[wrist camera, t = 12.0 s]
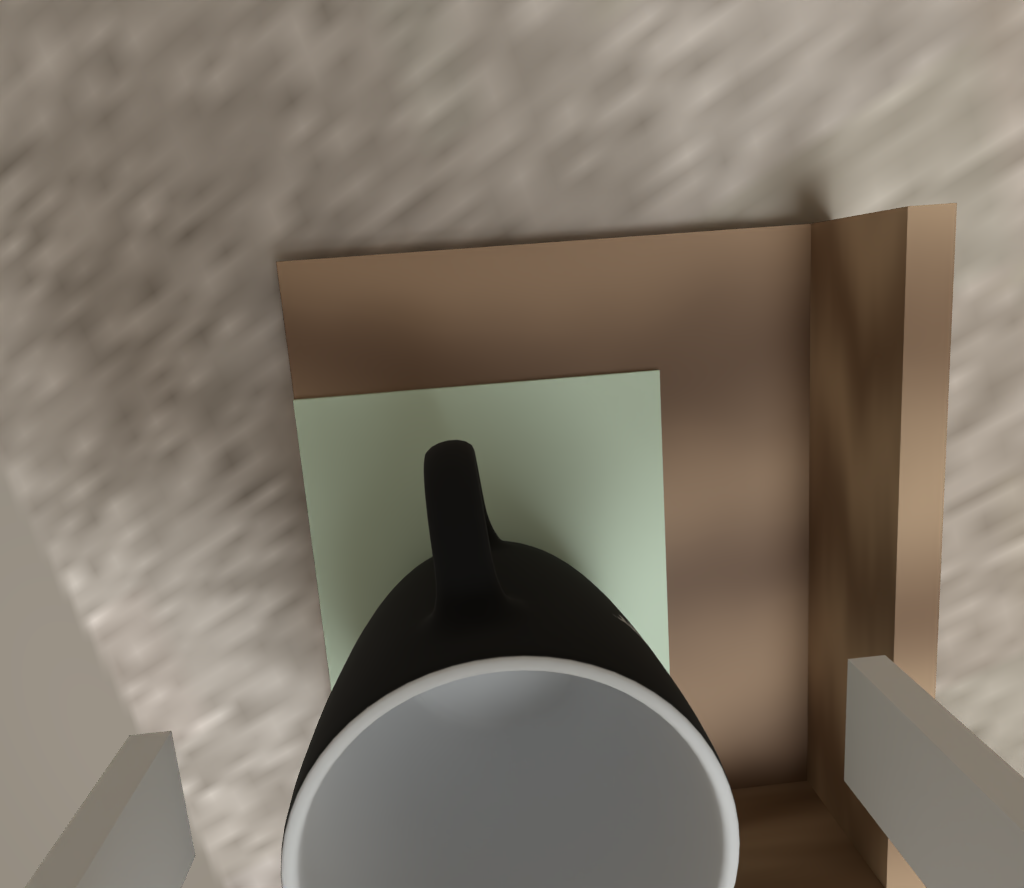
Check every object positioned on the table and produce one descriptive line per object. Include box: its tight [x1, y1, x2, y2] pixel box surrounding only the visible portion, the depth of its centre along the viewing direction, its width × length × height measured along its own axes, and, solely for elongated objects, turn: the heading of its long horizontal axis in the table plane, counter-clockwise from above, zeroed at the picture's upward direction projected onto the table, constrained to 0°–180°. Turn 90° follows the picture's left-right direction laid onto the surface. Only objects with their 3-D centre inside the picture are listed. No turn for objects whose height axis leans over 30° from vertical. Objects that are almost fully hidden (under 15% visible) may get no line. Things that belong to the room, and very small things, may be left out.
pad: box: [293, 370, 670, 691], centre depth 24 cm, size 13×11×1 cm
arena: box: [276, 203, 957, 888], centre depth 23 cm, size 20×17×6 cm
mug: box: [281, 440, 740, 888], centre depth 19 cm, size 12×9×10 cm
